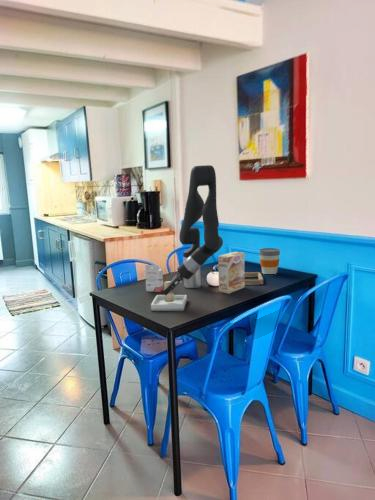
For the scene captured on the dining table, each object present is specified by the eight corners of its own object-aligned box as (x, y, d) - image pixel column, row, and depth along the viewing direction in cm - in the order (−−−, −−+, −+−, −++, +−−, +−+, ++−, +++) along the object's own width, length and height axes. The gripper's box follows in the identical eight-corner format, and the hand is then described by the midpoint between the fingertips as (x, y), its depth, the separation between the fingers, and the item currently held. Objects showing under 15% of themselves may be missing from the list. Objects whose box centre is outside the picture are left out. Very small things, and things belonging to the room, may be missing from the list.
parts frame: (228, 276, 230) (228, 272, 230) (260, 276, 228) (260, 272, 228) (228, 284, 211) (228, 280, 211) (263, 284, 209) (263, 280, 209)
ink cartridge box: (163, 289, 206) (162, 263, 204) (160, 292, 201) (158, 265, 199) (149, 288, 209) (148, 263, 206) (145, 291, 204) (144, 265, 202)
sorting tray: (156, 300, 187) (156, 295, 186) (186, 300, 185) (186, 294, 185) (151, 310, 172) (150, 304, 171) (183, 310, 170) (183, 304, 170)
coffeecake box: (229, 293, 194) (228, 257, 191) (218, 291, 199) (217, 255, 196) (245, 287, 205) (245, 252, 202) (234, 285, 210) (234, 251, 206)
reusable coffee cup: (255, 272, 238) (255, 249, 235) (271, 270, 243) (271, 247, 240) (267, 276, 226) (267, 252, 224) (284, 274, 232) (284, 250, 229)
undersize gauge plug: (165, 299, 180) (164, 281, 179) (174, 299, 180) (173, 281, 178) (164, 302, 176) (163, 283, 175) (173, 302, 176) (172, 283, 174)
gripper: (185, 258, 181) (161, 283, 184) (181, 265, 167) (156, 291, 170) (196, 269, 181) (172, 293, 185) (194, 276, 167) (168, 302, 171)
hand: (165, 292), depth 178 cm, fingers closed on undersize gauge plug, 4 cm apart
